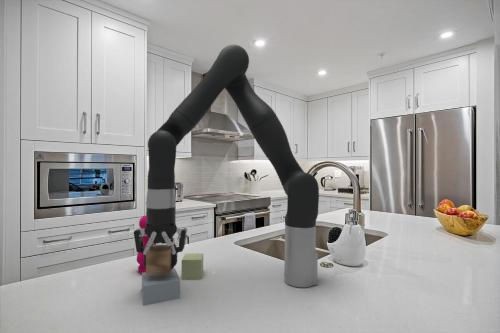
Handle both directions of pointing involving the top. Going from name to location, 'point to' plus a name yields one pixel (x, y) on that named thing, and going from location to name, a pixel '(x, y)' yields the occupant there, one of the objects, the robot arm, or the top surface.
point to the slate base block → (160, 287)
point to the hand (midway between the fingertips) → (160, 266)
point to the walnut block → (158, 260)
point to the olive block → (192, 266)
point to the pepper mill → (145, 239)
